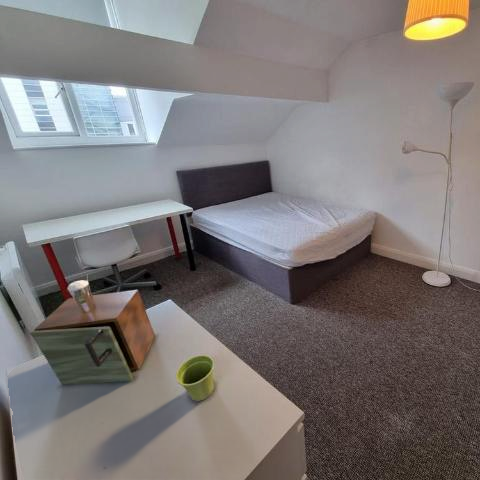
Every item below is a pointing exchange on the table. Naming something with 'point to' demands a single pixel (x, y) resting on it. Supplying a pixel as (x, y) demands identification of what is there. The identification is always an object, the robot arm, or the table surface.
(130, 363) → the cupboard
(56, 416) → the table surface
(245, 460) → the table surface
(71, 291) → the milkshake
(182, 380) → the plant pot
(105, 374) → the cupboard door
